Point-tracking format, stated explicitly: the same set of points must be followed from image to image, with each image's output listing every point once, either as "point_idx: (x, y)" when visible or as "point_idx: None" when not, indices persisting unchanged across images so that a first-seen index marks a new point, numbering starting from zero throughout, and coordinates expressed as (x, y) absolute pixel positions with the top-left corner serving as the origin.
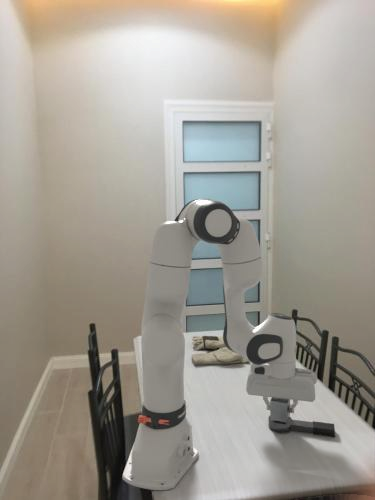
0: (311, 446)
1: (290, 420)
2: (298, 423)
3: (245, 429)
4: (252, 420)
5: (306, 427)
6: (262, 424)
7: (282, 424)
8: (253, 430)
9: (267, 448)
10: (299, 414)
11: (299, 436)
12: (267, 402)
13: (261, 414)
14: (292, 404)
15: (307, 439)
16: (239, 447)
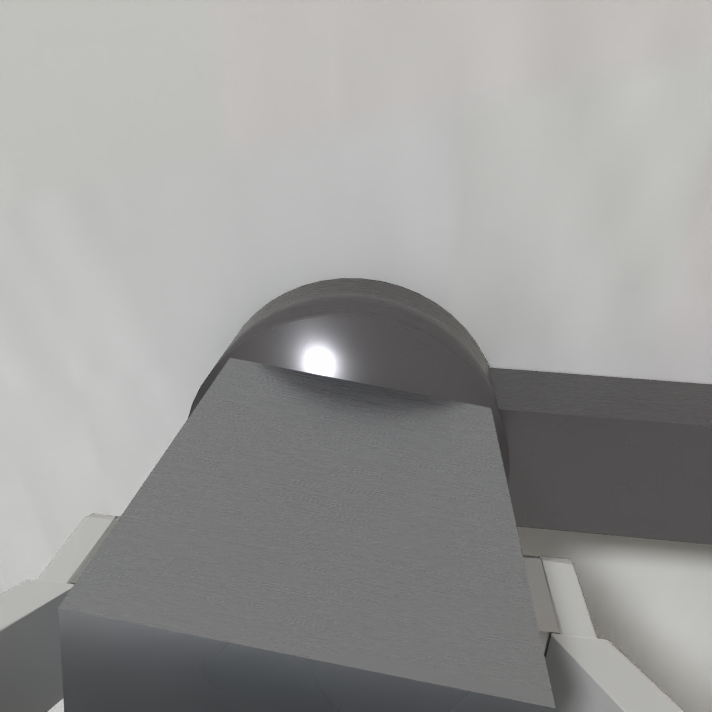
0: (645, 664)
1: None
2: (588, 485)
3: (8, 498)
4: (17, 325)
5: (678, 533)
6: (149, 390)
7: None
8: (87, 504)
9: None
10: (669, 21)
11: (558, 545)
12: (45, 700)
13: (82, 152)
14: (563, 668)
15: (633, 580)
16: (50, 709)
